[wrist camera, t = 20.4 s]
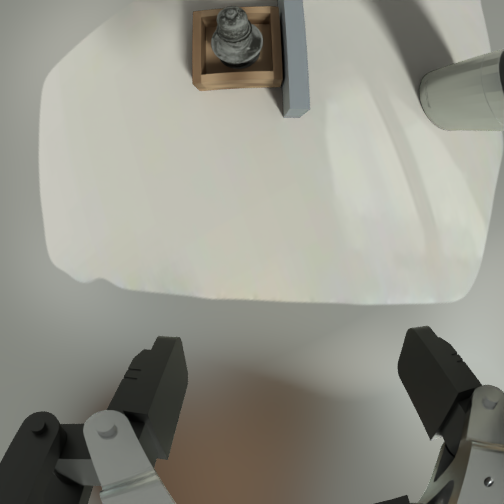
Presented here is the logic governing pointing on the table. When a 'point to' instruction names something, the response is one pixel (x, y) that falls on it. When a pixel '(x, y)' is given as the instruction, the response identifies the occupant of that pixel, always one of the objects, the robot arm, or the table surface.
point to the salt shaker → (236, 39)
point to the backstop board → (294, 59)
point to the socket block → (222, 77)
